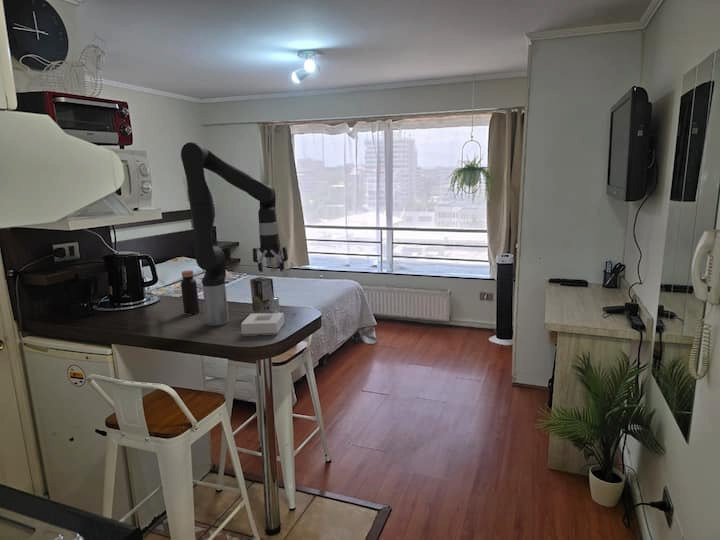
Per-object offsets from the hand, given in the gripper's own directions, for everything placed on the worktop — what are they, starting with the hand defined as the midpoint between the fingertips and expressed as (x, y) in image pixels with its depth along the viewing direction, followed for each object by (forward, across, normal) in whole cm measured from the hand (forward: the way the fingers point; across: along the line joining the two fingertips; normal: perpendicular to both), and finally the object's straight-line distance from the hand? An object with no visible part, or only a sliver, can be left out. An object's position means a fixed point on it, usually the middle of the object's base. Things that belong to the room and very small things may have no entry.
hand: (271, 271), depth 195 cm
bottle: (+22, -43, +15) cm, 50 cm away
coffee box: (+22, -8, +12) cm, 26 cm away
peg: (+22, 0, 0) cm, 22 cm away
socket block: (+22, -2, -12) cm, 25 cm away
